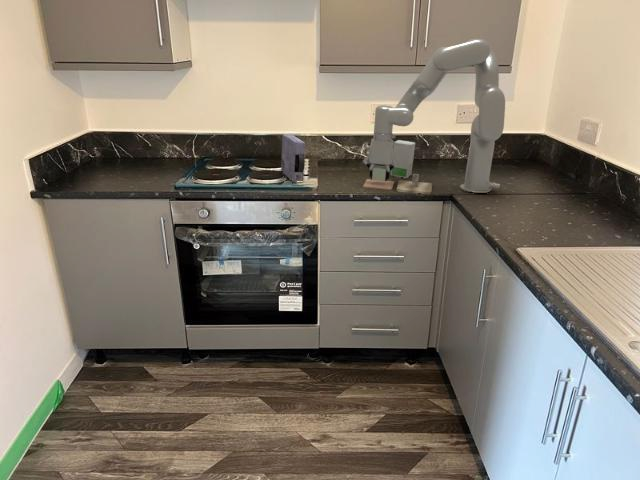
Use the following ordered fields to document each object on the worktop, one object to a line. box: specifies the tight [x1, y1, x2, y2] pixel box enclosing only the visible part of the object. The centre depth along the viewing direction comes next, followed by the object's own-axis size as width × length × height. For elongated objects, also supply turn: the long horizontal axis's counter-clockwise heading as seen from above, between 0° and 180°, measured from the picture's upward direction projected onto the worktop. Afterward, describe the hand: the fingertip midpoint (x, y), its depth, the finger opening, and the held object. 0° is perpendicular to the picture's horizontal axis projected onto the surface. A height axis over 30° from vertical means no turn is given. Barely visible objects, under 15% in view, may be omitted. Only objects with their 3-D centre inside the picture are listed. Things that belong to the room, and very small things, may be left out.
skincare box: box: [390, 139, 416, 179], centre depth 224 cm, size 8×7×16 cm
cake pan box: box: [280, 133, 306, 183], centre depth 215 cm, size 19×5×18 cm, turn 22°
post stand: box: [395, 173, 433, 196], centre depth 207 cm, size 14×14×6 cm
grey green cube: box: [372, 164, 387, 181], centre depth 210 cm, size 5×5×5 cm
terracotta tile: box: [362, 178, 395, 191], centre depth 211 cm, size 12×12×1 cm
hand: (379, 179), depth 211 cm, fingers closed on grey green cube, 5 cm apart
